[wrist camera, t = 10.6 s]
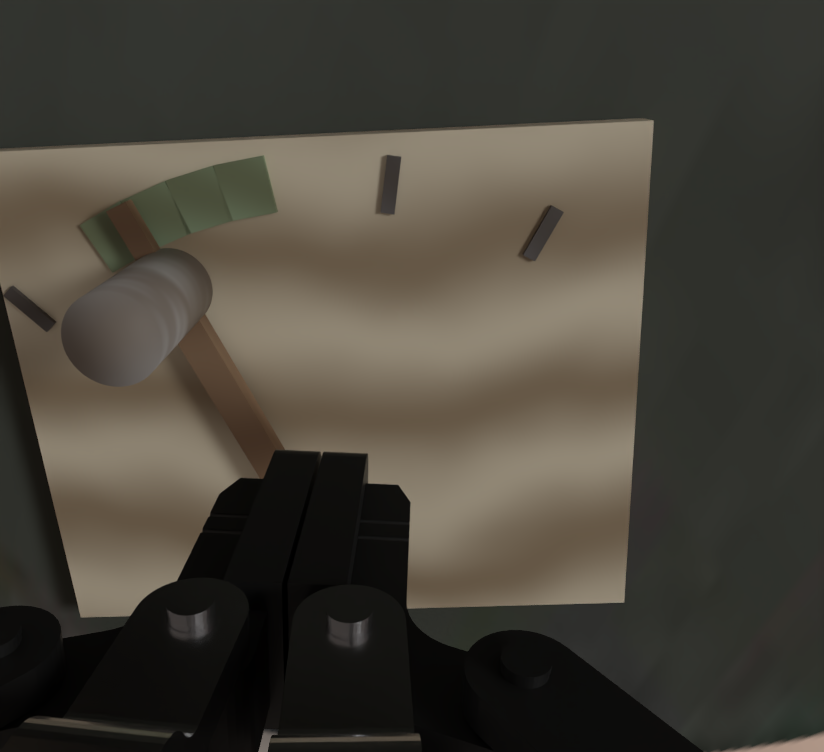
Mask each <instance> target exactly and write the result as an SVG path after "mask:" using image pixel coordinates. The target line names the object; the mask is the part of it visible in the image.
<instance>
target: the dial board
mask: <svg viewBox="0 0 824 752" xmlns="http://www.w3.org/2000/svg"><path fill="white" fill-rule="evenodd" d="M653 123H654V121H653V120H649V119H644V118H635V119H614V120H593V121H572V122H550V123H529V124H508V125H487V126H466V127H445V128H424V129H403V130H382V131H361V132H340V133H319V134H298V135H277V136H256V137H235V138H214V139H193V140H172V141H150V142H129V143H108V144H87V145H66V146H45V147H24V148H3V149H0V285H1V289H2V293H3V297H4V301H5V305H6V309H7V314H8V318H9V322H10V326H11V330H12V334H13V338H14V343H15V347H16V351H17V355H18V359H19V363H20V367H21V372H22V376H23V380H24V384H25V388H26V392H27V396H28V400H29V405H30V409H31V413H32V417H33V421H34V425H35V429H36V434H37V438H38V442H39V446H40V450H41V454H42V458H43V463H44V467H45V471H46V475H47V479H48V483H49V487H50V492H51V496H52V500H53V504H54V508H55V512H56V516H57V520H58V525H59V529H60V533H61V537H62V541H63V545H64V549H65V554H66V558H67V562H68V566H69V570H70V574H71V578H72V583H73V587H74V591H75V595H76V599H77V603H78V607H79V611H80V616H81V617H114V616H131V614H132V613H133V611H134V610H135V608H136V607H137V605H138V604H139V603H140V602H141V601H142V600H143V599H144V598H145V597H146V596H147V595H148V594H150V593H151V592H153V591H154V590H156V589H158V588H160V587H162V586H164V585H167V584H169V583H172V582H175V581H177V580H178V578H179V576H180V574H181V572H182V569H183V567H184V565H185V563H186V561H187V559H188V557H189V555H190V553H191V551H192V549H193V547H194V545H195V543H196V541H197V539H198V537H199V535H200V533H202V528H203V526H204V524H205V522H206V520H207V518H208V517H210V512H211V510H212V508H213V506H214V504H215V502H216V500H217V498H218V496H219V494H220V493H221V492H222V491H224V490H225V489H226V488H228V487H229V486H230V485H232V484H233V483H234V482H236V481H237V480H238V479H240V478H257V479H260V478H259V476H258V475H257V473H256V471H255V470H254V468H253V466H252V465H251V463H250V462H249V460H248V458H247V457H246V455H245V453H244V452H243V450H242V448H241V447H240V445H239V444H238V442H237V440H236V439H235V437H234V435H233V434H232V432H231V430H230V429H229V427H228V426H227V424H226V422H225V421H224V419H223V417H222V416H221V414H220V412H219V411H218V409H217V408H216V406H215V404H214V403H213V401H212V399H211V398H210V396H209V394H208V393H207V391H206V390H205V388H204V386H203V385H202V383H201V381H200V380H199V378H198V376H197V375H196V373H195V372H194V370H193V368H192V367H191V365H190V363H189V362H188V360H187V358H186V357H185V355H184V354H183V352H182V350H181V349H180V347H179V345H178V344H177V346H176V347H175V348H174V349H173V350H172V351H171V352H170V353H169V354H168V355H167V357H166V358H165V359H164V360H163V361H162V362H161V363H160V364H159V365H158V366H157V368H156V369H155V370H154V371H153V372H152V373H151V374H150V375H149V376H148V377H147V378H145V379H144V380H142V381H140V382H139V383H136V384H133V385H129V386H123V387H113V386H107V385H103V384H100V383H97V382H95V381H93V380H91V379H89V378H88V377H86V376H85V375H83V374H82V373H81V372H80V371H79V370H78V369H77V368H76V367H75V366H74V365H73V364H72V362H71V361H70V360H69V358H68V356H67V355H66V352H65V350H64V347H63V344H62V339H61V325H62V321H63V318H64V315H65V313H66V311H67V310H68V308H69V307H70V306H71V305H72V304H73V303H74V302H75V301H76V300H77V299H79V298H80V297H82V296H83V295H85V294H87V293H88V292H90V291H91V290H93V289H94V288H96V287H97V286H99V285H100V284H102V283H103V282H105V281H106V280H108V279H109V278H111V277H112V276H114V275H115V274H117V273H119V272H120V271H122V270H123V269H125V268H126V267H128V266H129V265H131V264H132V263H134V262H135V261H136V260H135V259H134V257H133V256H132V254H131V252H130V251H129V249H128V247H127V246H126V244H125V242H124V241H123V239H122V237H121V236H120V234H119V233H118V231H117V229H116V228H115V226H114V224H113V223H112V221H111V219H110V218H109V216H108V214H107V213H106V211H108V210H110V209H112V208H114V207H116V206H118V205H120V204H122V203H124V202H126V201H128V200H130V199H131V200H132V201H133V203H134V205H135V206H136V208H137V210H138V212H139V213H140V215H141V217H142V218H143V220H144V222H145V223H146V225H147V227H148V228H149V230H150V232H151V233H152V235H153V237H154V239H155V240H156V242H157V244H158V245H159V247H160V249H161V248H173V249H178V250H182V251H184V252H187V253H188V254H190V255H192V256H193V257H195V258H196V259H197V260H198V261H199V262H200V263H201V264H202V265H203V266H204V268H205V269H206V271H207V272H208V274H209V277H210V279H211V283H212V289H213V295H212V301H211V304H210V307H209V309H208V311H207V312H206V313H205V315H206V316H207V318H208V320H209V321H210V323H211V325H212V327H213V328H214V330H215V332H216V333H217V335H218V337H219V338H220V340H221V342H222V343H223V345H224V347H225V349H226V350H227V352H228V354H229V355H230V357H231V359H232V360H233V362H234V364H235V365H236V367H237V369H238V371H239V372H240V374H241V376H242V377H243V379H244V381H245V382H246V384H247V386H248V388H249V389H250V391H251V393H252V394H253V396H254V398H255V399H256V401H257V403H258V404H259V406H260V408H261V410H262V411H263V413H264V415H265V416H266V418H267V420H268V421H269V423H270V425H271V427H272V428H273V430H274V432H275V433H276V435H277V437H278V438H279V440H280V442H281V443H282V445H283V447H284V449H285V450H299V451H320V452H321V456H322V454H323V452H346V453H368V483H369V484H391V485H399V487H400V488H401V489H402V491H403V492H404V494H405V495H406V496H407V498H408V499H409V501H410V502H411V504H410V529H409V554H408V579H407V608H441V607H478V606H514V605H550V604H587V603H623V602H624V596H625V579H626V563H627V547H628V531H629V514H630V498H631V482H632V465H633V449H634V433H635V417H636V400H637V384H638V368H639V351H640V335H641V319H642V302H643V286H644V270H645V254H646V237H647V221H648V205H649V188H650V172H651V156H652V139H653Z"/></svg>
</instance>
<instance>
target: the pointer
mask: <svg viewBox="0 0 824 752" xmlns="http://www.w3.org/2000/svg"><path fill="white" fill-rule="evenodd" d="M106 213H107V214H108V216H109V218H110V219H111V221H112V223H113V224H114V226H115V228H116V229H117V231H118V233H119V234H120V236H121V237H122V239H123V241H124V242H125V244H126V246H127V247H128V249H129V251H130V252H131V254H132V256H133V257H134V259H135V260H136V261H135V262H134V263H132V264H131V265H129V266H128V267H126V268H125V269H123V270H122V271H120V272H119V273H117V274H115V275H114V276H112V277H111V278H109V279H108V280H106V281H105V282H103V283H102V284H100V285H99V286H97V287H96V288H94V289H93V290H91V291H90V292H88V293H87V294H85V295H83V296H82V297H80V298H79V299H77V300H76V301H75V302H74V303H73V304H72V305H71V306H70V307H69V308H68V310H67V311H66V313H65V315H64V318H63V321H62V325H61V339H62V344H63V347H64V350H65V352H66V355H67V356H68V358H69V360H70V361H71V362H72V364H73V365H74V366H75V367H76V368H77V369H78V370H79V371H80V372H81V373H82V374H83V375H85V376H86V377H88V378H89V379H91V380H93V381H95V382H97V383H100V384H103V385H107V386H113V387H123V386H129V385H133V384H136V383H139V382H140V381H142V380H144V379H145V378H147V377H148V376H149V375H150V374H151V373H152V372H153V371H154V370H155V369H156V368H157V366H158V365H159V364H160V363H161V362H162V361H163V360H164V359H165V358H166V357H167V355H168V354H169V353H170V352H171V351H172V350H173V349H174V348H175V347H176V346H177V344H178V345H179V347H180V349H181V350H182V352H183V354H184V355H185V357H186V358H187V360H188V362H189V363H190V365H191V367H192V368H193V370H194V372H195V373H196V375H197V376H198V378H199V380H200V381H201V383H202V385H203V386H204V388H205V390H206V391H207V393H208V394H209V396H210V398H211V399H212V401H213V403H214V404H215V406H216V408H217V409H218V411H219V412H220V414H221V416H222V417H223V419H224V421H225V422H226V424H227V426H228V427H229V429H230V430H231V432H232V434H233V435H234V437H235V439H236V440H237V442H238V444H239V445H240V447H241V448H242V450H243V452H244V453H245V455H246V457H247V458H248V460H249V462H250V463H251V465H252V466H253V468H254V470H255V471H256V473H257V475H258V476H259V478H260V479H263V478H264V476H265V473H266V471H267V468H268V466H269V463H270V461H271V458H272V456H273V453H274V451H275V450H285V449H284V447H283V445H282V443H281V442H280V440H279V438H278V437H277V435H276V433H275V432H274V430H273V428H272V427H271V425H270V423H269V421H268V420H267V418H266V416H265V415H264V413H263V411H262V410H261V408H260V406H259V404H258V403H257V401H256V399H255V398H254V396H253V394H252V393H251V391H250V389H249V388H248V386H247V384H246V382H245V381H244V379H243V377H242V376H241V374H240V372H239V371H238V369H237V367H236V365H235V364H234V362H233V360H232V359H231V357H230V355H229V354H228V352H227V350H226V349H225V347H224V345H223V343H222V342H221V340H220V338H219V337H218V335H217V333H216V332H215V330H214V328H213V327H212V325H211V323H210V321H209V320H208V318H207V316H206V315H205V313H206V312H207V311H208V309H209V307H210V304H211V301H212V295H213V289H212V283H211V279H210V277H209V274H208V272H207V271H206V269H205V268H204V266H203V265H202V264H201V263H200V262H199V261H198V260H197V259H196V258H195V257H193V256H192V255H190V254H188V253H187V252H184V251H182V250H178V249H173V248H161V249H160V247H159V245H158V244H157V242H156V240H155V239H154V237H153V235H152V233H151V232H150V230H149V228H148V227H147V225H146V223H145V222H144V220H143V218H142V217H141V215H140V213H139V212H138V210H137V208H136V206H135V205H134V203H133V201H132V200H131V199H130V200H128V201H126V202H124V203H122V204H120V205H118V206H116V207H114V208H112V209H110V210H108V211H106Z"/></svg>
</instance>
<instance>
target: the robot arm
mask: <svg viewBox="0 0 824 752" xmlns="http://www.w3.org/2000/svg"><path fill="white" fill-rule="evenodd" d="M410 504H411V502H410V501H409V499H408V498H407V496H406V495H405V494H404V492H403V491H402V489H401V488H400V487H399V485H391V484H369V483H368V453H346V452H323V454H322V456H321V452H320V451H299V450H275V451H274V453H273V456H272V458H271V461H270V463H269V466H268V468H267V471H266V473H265V476H264V478H263V479H257V478H240V479H238V480H237V481H236V482H234V483H233V484H232V485H230V486H229V487H228V488H226V489H225V490H224V491H222V492H221V493H220V494H219V496H218V498H217V500H216V502H215V504H214V506H213V508H212V510H211V512H210V517H208V518H207V520H206V522H205V524H204V526H203V528H202V533H200V535H199V537H198V539H197V541H196V543H195V545H194V547H193V549H192V551H191V553H190V555H189V557H188V559H187V561H186V563H185V565H184V567H183V569H182V572H181V574H180V576H179V578H178V580H177V581H175V582H172V583H169V584H167V585H164V586H162V587H160V588H158V589H156V590H154V591H153V592H151V593H150V594H148V595H147V596H146V597H145V598H144V599H143V600H142V601H141V602H140V603H139V604H138V605H137V607H136V608H135V610H134V611H133V613H132V614H131V616H130V617H129V619H128V620H127V622H126V623H125V625H124V626H123V627H120V628H116V629H112V630H108V631H103V632H97V633H91V634H86V635H80V636H74V637H68V638H62V633H61V626H60V624H59V621H58V620H57V618H56V617H55V616H54V615H53V614H51V613H50V612H48V611H46V610H43V609H41V608H36V607H32V606H8V607H0V752H258V751H259V747H260V742H261V739H262V735H263V731H264V729H278V735H272V736H271V739H270V743H269V748H268V752H703V751H702V750H700V749H699V748H698V747H697V746H695V745H694V744H693V743H691V742H690V741H689V740H687V739H686V738H685V737H683V736H682V735H681V734H680V733H678V732H677V731H676V730H674V729H673V728H672V727H670V726H669V725H668V724H666V723H665V722H664V721H663V720H661V719H660V718H659V717H657V716H656V715H655V714H653V713H652V712H651V711H649V710H648V709H647V708H646V707H644V706H643V705H642V704H640V703H639V702H638V701H636V700H635V699H634V698H633V697H631V696H630V695H629V694H627V693H626V692H625V691H623V690H622V689H621V688H619V687H618V686H617V685H616V684H614V683H613V682H612V681H610V680H609V679H608V678H606V677H605V676H604V675H602V674H601V673H600V672H599V671H597V670H596V669H595V668H593V667H592V666H591V665H589V664H588V663H587V662H585V661H584V660H583V659H582V658H580V657H579V656H578V655H576V654H575V653H574V652H572V651H571V650H570V649H568V648H567V647H566V646H564V645H563V644H561V643H560V642H558V641H556V640H554V639H552V638H550V637H547V636H545V635H542V634H538V633H534V632H530V631H522V630H508V631H500V632H496V633H492V634H490V635H487V636H485V637H483V638H482V639H480V640H478V641H477V642H476V643H475V644H474V645H473V646H472V647H471V648H470V650H469V651H468V652H467V651H464V650H460V649H457V648H454V647H451V646H448V645H445V644H442V643H440V642H438V641H436V640H434V639H432V638H431V637H429V636H427V635H426V634H425V633H423V632H422V631H421V630H420V629H419V628H418V627H417V626H416V625H415V624H414V622H413V621H412V619H411V617H410V616H409V613H408V610H407V579H408V554H409V529H410Z"/></svg>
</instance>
